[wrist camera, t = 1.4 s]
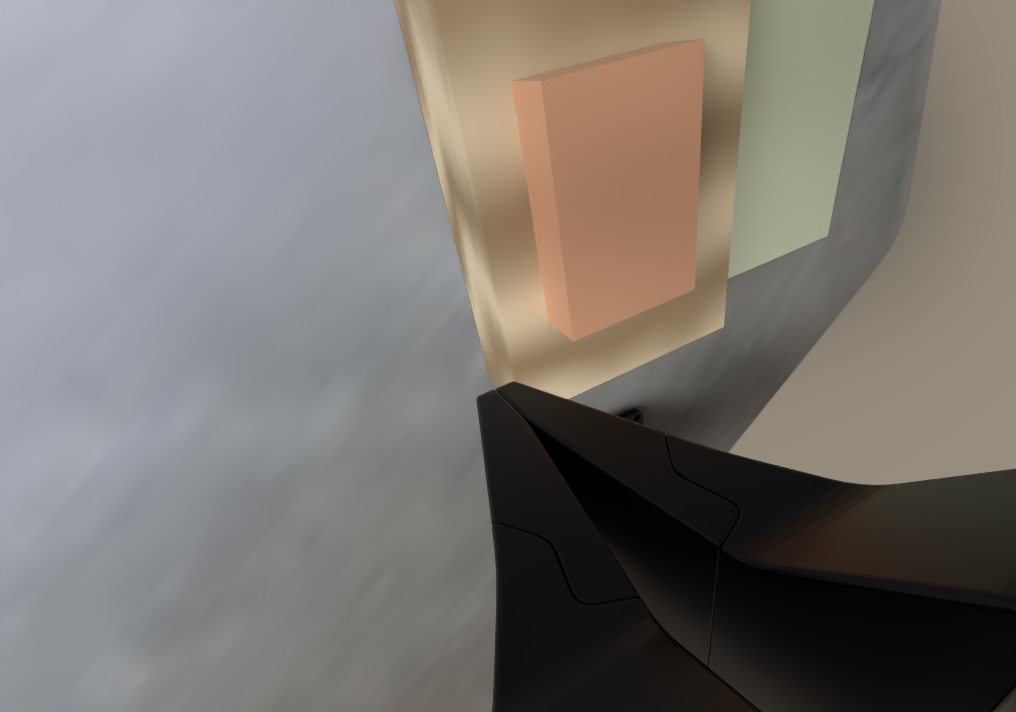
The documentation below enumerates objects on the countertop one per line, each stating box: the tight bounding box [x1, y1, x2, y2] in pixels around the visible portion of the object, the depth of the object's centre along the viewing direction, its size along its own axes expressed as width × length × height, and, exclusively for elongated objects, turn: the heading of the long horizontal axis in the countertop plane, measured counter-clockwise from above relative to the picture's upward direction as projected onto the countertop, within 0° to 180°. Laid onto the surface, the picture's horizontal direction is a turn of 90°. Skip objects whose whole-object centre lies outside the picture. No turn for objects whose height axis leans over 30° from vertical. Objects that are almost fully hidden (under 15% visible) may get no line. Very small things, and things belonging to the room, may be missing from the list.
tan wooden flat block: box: [395, 0, 751, 399], centre depth 21 cm, size 18×12×4 cm, turn 11°
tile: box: [511, 39, 705, 341], centre depth 18 cm, size 9×6×2 cm, turn 11°
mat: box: [728, 0, 874, 279], centre depth 25 cm, size 18×12×1 cm, turn 11°
